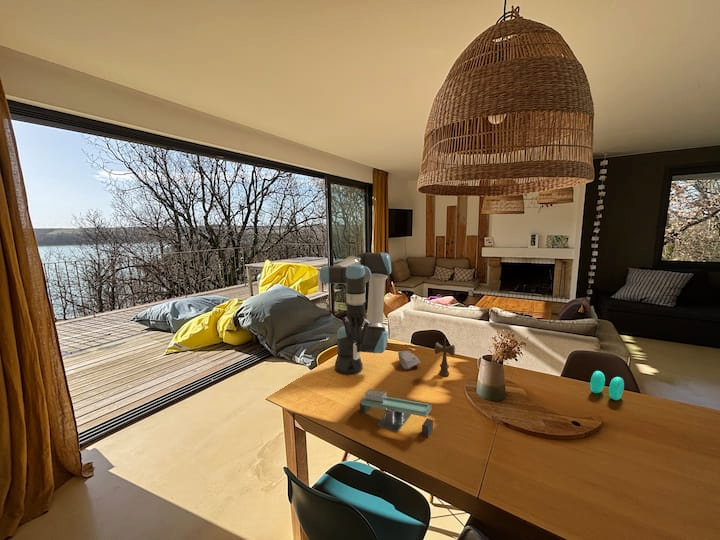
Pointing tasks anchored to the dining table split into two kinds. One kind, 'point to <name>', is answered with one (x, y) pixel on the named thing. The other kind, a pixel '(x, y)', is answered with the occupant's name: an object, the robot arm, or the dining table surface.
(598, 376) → the teal egg pair
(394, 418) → the stand
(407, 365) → the decorative stone
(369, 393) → the block
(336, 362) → the robot arm
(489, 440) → the dining table surface
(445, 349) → the kendama
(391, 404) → the beam
